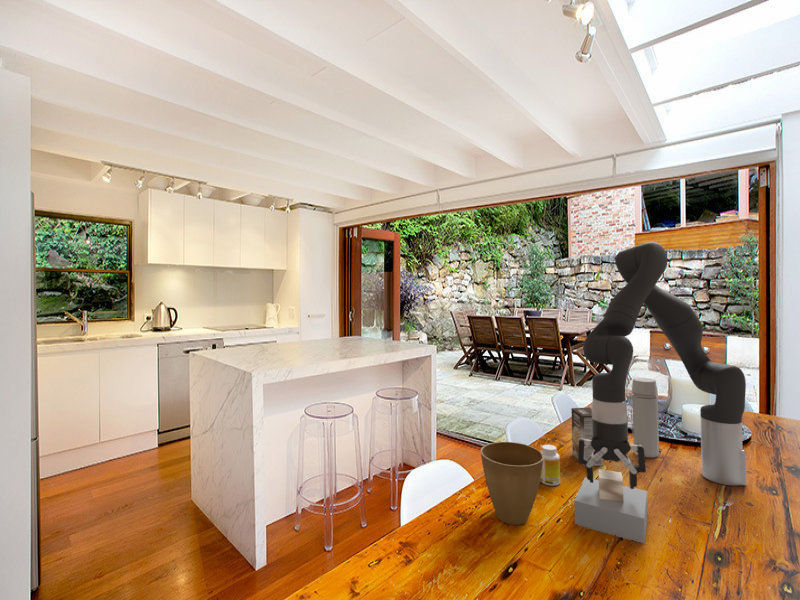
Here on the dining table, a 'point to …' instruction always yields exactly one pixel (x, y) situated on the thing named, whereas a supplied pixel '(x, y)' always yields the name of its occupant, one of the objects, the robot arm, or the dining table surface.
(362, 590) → the dining table surface
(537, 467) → the plant pot
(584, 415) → the coffee box
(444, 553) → the dining table surface
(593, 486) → the slate block
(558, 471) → the supplement bottle
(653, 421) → the water bottle
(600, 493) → the cream cube
